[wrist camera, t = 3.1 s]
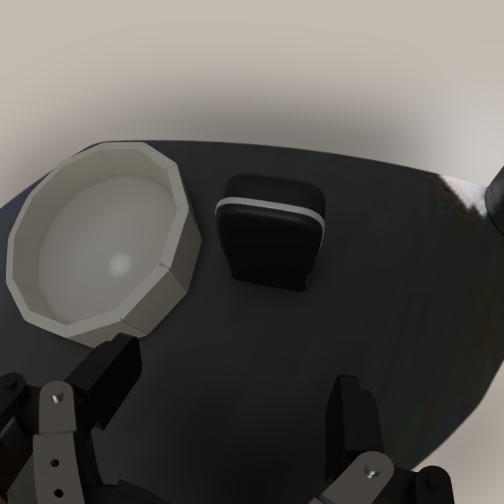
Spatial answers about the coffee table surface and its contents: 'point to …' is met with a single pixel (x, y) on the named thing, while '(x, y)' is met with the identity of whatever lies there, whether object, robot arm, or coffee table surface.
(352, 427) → the robot arm
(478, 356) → the coffee table surface
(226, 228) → the battery charger
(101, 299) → the bowl
